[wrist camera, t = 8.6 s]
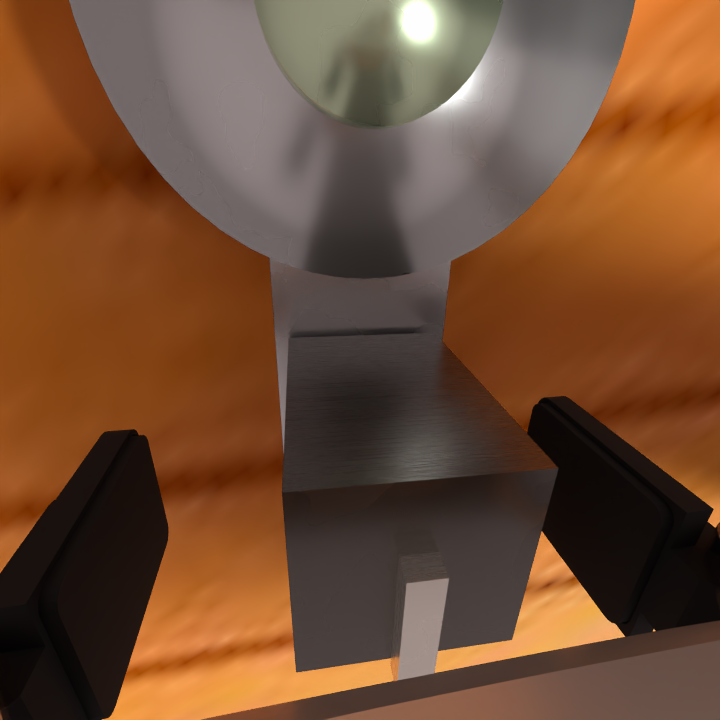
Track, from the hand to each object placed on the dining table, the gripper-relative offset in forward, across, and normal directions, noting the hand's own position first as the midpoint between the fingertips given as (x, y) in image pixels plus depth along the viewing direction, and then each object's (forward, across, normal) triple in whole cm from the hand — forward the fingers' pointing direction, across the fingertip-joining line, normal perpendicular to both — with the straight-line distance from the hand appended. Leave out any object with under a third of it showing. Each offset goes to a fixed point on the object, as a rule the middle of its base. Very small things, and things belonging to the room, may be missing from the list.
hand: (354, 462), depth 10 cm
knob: (+3, -1, 0) cm, 3 cm away
